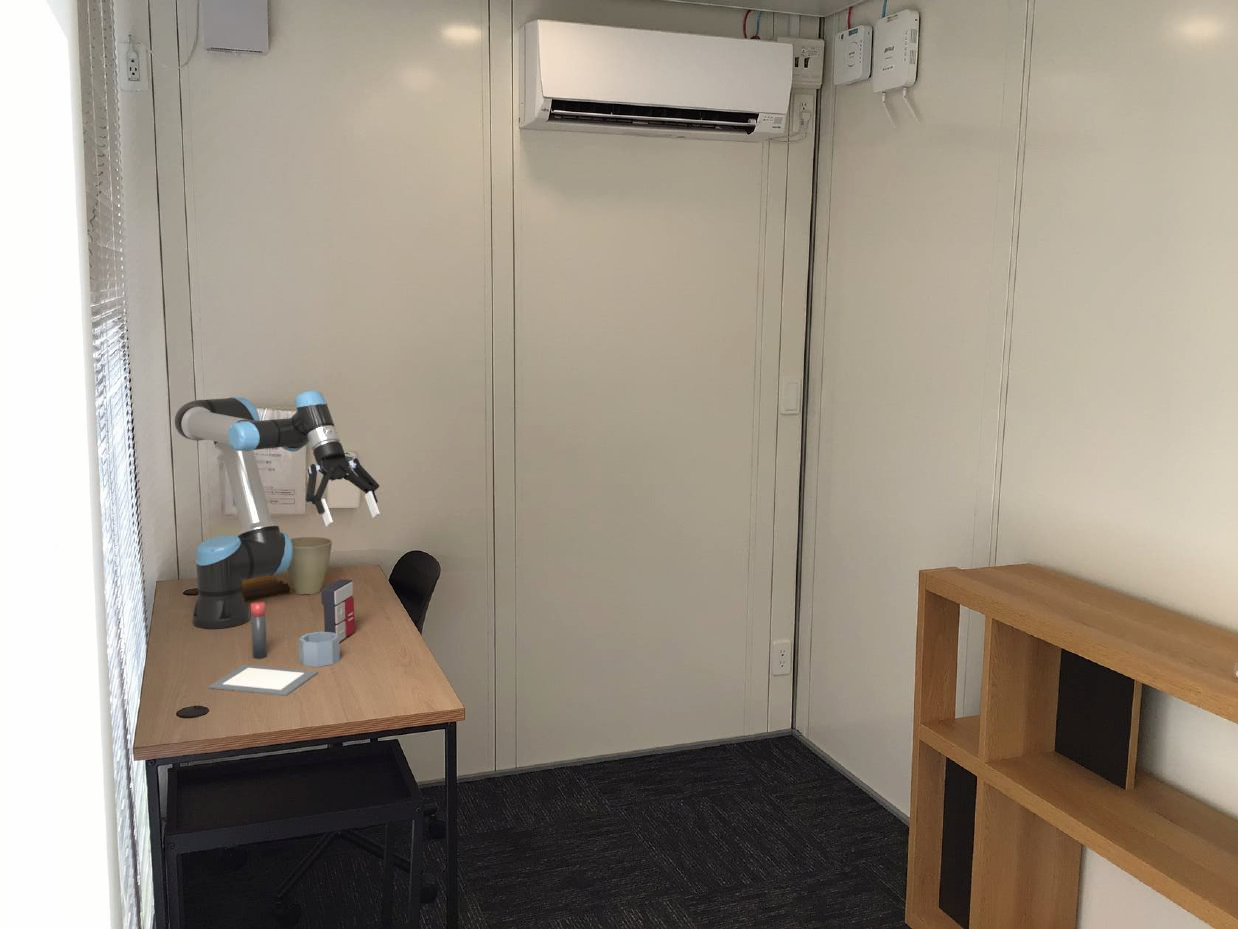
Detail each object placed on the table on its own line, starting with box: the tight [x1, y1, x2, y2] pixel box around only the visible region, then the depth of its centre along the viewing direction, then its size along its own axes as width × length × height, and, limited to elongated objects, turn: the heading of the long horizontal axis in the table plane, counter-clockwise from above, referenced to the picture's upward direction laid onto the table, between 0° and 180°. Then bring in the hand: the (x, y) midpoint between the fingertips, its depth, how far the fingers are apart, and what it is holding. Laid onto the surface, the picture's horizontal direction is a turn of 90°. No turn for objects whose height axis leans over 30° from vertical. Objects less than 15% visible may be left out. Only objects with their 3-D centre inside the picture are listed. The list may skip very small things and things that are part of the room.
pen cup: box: [298, 631, 341, 668], centre depth 261 cm, size 9×9×6 cm
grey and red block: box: [320, 578, 356, 643], centre depth 277 cm, size 11×4×15 cm, turn 168°
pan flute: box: [242, 575, 291, 602], centre depth 320 cm, size 25×3×25 cm
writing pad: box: [207, 664, 319, 697], centre depth 247 cm, size 20×15×1 cm
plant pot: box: [286, 536, 333, 595], centre depth 321 cm, size 15×15×16 cm
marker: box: [250, 600, 268, 660], centre depth 262 cm, size 3×3×14 cm
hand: (353, 520), depth 265 cm, fingers open, 13 cm apart
